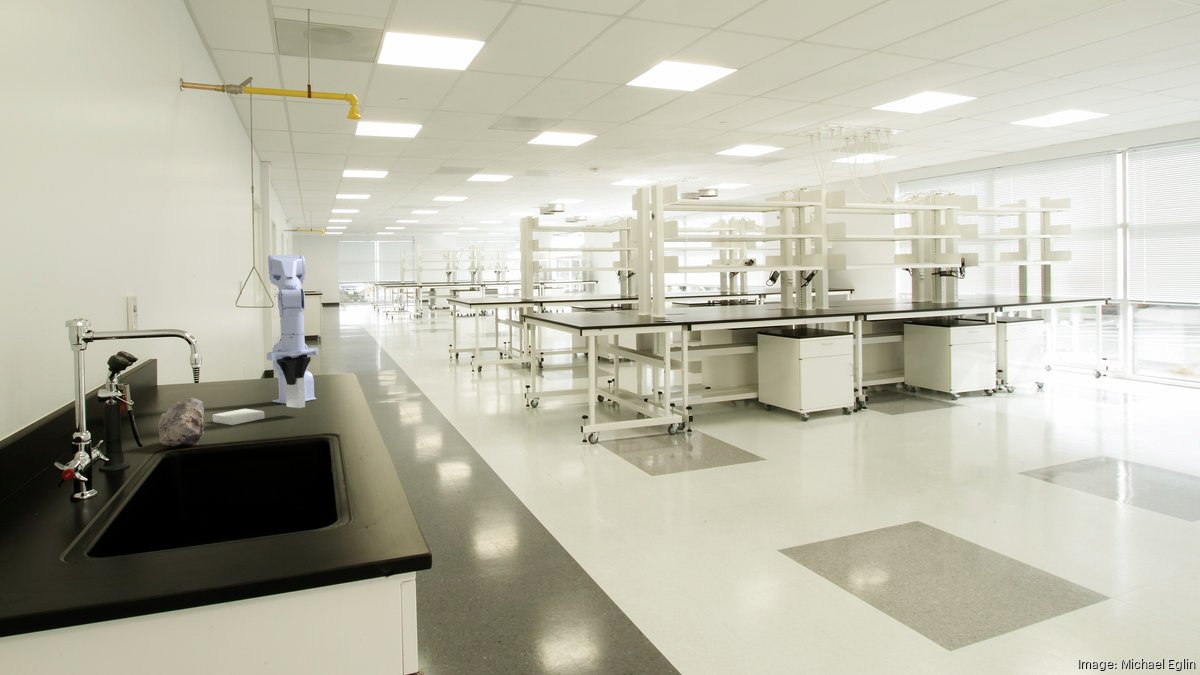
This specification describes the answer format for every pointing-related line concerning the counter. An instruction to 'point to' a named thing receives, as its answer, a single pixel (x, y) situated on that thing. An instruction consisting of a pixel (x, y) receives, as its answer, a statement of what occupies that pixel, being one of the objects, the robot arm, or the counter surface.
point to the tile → (238, 416)
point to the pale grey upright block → (295, 393)
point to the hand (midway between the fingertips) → (294, 383)
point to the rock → (182, 423)
